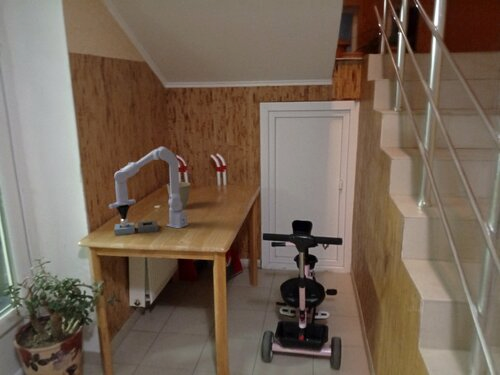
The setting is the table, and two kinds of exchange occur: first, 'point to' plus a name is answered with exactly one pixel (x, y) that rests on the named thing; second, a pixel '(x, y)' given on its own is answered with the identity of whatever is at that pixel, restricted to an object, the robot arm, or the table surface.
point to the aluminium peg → (124, 222)
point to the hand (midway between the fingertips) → (123, 218)
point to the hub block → (124, 229)
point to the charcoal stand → (147, 226)
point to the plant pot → (182, 192)
